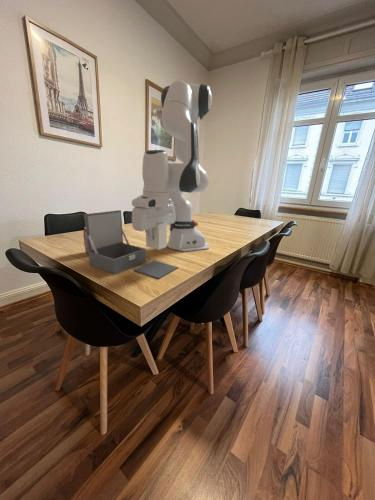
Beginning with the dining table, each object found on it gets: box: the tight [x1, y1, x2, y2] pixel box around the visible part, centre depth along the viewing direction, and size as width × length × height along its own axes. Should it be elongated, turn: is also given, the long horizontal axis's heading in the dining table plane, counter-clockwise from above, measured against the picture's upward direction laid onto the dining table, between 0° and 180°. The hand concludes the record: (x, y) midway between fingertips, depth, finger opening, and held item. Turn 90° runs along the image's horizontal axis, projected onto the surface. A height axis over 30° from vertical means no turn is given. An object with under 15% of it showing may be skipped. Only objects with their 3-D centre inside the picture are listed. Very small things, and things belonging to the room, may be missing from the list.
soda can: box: [82, 226, 89, 255], centre depth 93 cm, size 7×7×12 cm
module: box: [145, 222, 168, 250], centre depth 76 cm, size 6×4×9 cm
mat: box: [133, 260, 179, 280], centre depth 80 cm, size 12×12×1 cm
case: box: [83, 209, 147, 275], centre depth 82 cm, size 15×17×20 cm
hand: (156, 238), depth 76 cm, fingers closed on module, 4 cm apart
